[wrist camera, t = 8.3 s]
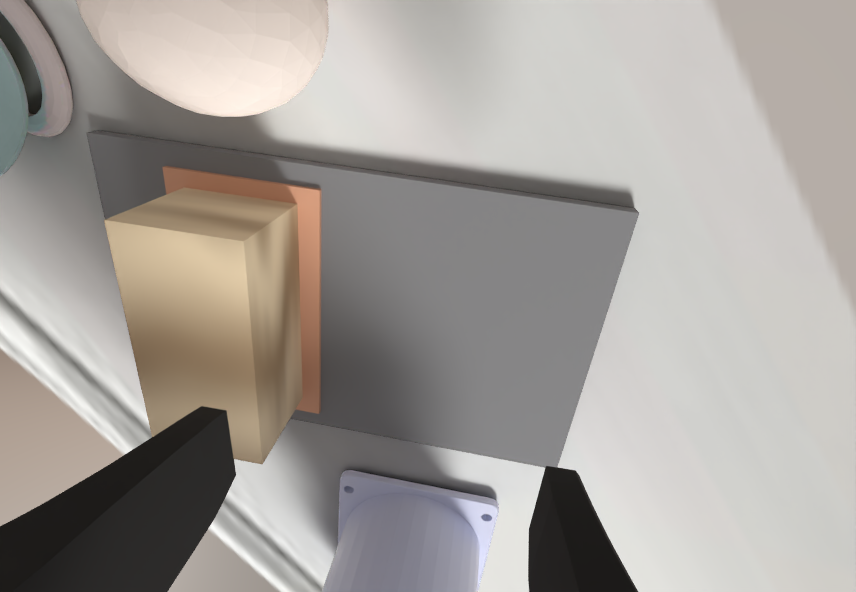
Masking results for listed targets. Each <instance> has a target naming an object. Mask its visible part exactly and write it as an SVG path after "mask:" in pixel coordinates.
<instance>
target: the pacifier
mask: <svg viewBox="0 0 856 592" xmlns="http://www.w3.org/2000/svg"><path fill="white" fill-rule="evenodd" d="M0 12H1V13H2V14H3V15H4V17H5V18H6V19H7V20H8V22H9V23H10V24H11V25H12V26H13V28H14V29H15V31H16V32H17V34H18V35H19V37H20V38H21V40H22V41H23V43H24V45H25V46H26V48H27V50H28V52H29V54H30V56H31V58H32V60H33V62H34V64H35V67H36V70H37V73H38V76H39V79H40V82H41V89H42V96H43V97H42V104H41V108H40V110H39V111H38V113H37V114H31V113H29V112H28V102H27V96H26V92H25V88H24V84H23V81H22V78H21V76H20V73H19V70H18V68H17V66H16V64H15V62H14V60H13V58H12V56H11V54H10V52H9V51H8V49H7V48H6V46H5V44H4V43H3V41H2V40H1V39H0V176H1V175H3V174H4V173H5V172H6V171H7V170H8V169H9V168H10V167H11V166H12V165H13V164H14V162H15V161H16V159H17V157H18V155H19V154H20V151H21V149H22V147H23V145H24V141H25V138H26V134H27V132H28V133H30V134H33V135H36V136H44V137H53V136H55V135H58V134H61V133H62V132H63V131H64V130H65V128H66V127H67V126H68V124H69V123H70V122H71V117H72V111H73V100H72V90H71V86H70V82H69V79H68V76H67V73H66V69H65V66H64V64H63V62H62V60H61V58H60V56H59V53H58V51H57V49H56V47H55V45H54V43H53V41H52V39H51V38H50V36H49V35H48V33H47V31H46V30H45V28H44V27H43V25H42V23H41V22H40V20H39V19H38V17H37V16H36V14H35V13H34V12H33V11H32V9H31V8H30V7H29V6H28V4H27V3H26V2H25V1H24V0H0Z"/></svg>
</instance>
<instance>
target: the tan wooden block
mask: <svg viewBox="0 0 856 592" xmlns="http://www.w3.org/2000/svg"><path fill="white" fill-rule="evenodd" d="M104 222H105V227H106V231H107V236H108V240H109V245H110V249H111V254H112V258H113V263H114V267H115V272H116V276H117V281H118V285H119V290H120V294H121V299H122V303H123V308H124V312H125V317H126V321H127V326H128V330H129V335H130V339H131V344H132V348H133V353H134V357H135V362H136V366H137V371H138V375H139V380H140V384H141V389H142V393H143V398H144V402H145V407H146V411H147V416H148V420H149V425H150V429H151V434H152V437H154V436H155V435H157V434H158V433H160V432H161V431H163V430H164V429H166V428H168V427H169V426H171V425H172V424H174V423H175V422H177V421H178V420H180V419H181V418H183V417H185V416H186V415H188V414H189V413H191V412H193V411H194V410H196V409H198V408H199V407H201V406H204V407H210V408H216V409H222V410H227V417H228V423H229V430H230V437H231V444H232V451H233V458H234V459H238V460H243V461H248V462H253V463H258V464H263V463H264V461H265V459H266V458H267V456H268V454H269V453H270V451H271V449H272V448H273V446H274V444H275V443H276V441H277V439H278V438H279V436H280V434H281V433H282V431H283V429H284V428H285V426H286V424H287V423H288V421H289V419H290V418H291V416H292V414H293V413H294V411H295V409H296V408H297V406H298V405H299V403H300V401H301V400H302V398H303V388H302V352H301V315H300V279H299V242H298V206H297V204H295V203H288V202H281V201H274V200H268V199H261V198H254V197H247V196H240V195H233V194H226V193H219V192H212V191H205V190H199V189H192V188H185V187H184V188H182V189H179V190H177V191H174V192H172V193H169V194H167V195H164V196H162V197H159V198H157V199H154V200H152V201H149V202H147V203H145V204H142V205H140V206H137V207H135V208H132V209H130V210H127V211H125V212H122V213H120V214H117V215H115V216H112V217H110V218H108V219H105V220H104Z"/></svg>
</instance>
